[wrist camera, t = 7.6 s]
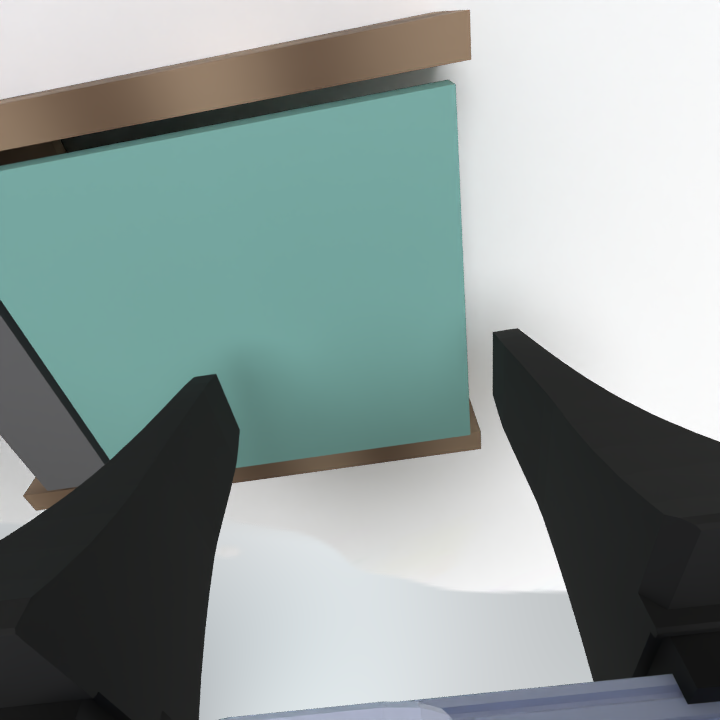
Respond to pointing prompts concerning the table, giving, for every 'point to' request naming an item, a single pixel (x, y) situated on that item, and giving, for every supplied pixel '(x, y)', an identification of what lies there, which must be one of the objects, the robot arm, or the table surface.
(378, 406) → the trapdoor
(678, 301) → the table surface
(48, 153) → the frame
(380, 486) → the table surface
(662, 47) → the table surface
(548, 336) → the table surface
